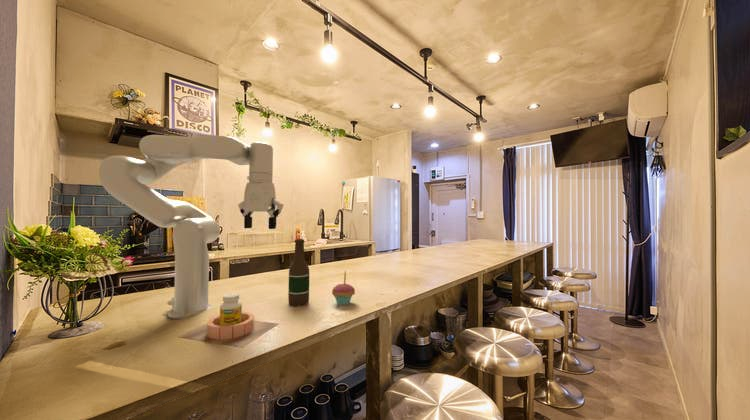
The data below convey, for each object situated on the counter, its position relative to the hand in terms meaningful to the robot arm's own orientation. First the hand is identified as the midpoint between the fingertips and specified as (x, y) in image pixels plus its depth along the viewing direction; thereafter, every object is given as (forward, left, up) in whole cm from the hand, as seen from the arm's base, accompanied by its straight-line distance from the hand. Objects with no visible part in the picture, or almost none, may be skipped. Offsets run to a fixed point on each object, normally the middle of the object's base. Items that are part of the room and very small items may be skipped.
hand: (260, 228), depth 96 cm
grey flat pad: (+5, -18, -28) cm, 34 cm away
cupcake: (+25, +16, -28) cm, 41 cm away
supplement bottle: (+5, -18, -27) cm, 33 cm away
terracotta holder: (+5, -18, -27) cm, 33 cm away
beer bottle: (+9, +11, -28) cm, 32 cm away
